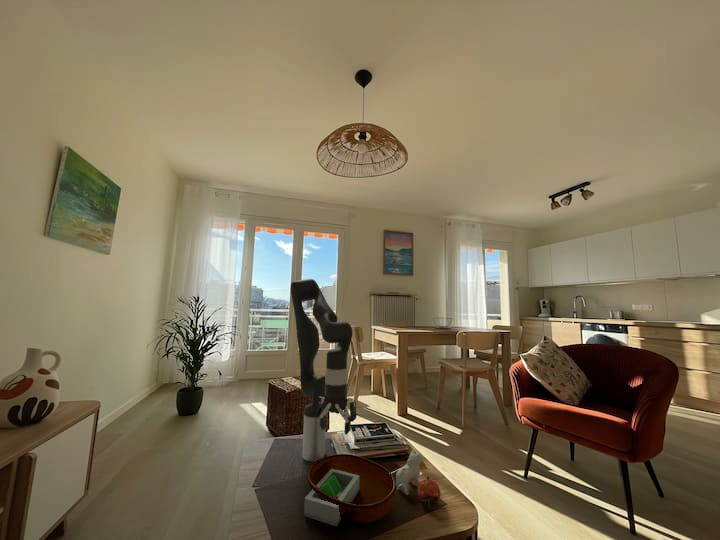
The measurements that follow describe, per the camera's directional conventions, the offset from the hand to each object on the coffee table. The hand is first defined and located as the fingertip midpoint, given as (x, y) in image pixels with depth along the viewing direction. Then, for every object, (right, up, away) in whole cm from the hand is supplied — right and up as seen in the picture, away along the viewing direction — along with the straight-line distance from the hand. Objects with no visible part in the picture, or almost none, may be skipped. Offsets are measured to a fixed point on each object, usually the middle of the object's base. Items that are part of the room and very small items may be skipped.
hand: (335, 431), depth 100 cm
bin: (0, -22, -3) cm, 22 cm away
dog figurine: (+26, -24, +7) cm, 36 cm away
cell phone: (+24, -25, +13) cm, 37 cm away
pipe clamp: (0, -20, -3) cm, 20 cm away
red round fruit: (+31, -23, -2) cm, 39 cm away
